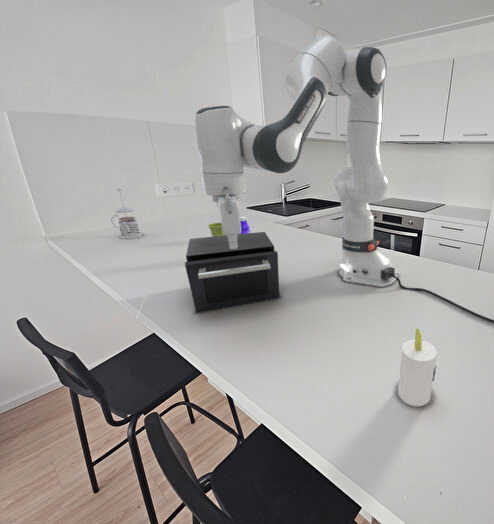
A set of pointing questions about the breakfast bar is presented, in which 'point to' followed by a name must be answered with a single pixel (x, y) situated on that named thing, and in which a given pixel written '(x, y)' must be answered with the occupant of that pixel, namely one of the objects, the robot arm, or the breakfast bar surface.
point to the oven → (220, 246)
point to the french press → (127, 223)
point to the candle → (417, 371)
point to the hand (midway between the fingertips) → (232, 243)
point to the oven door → (233, 280)
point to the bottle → (244, 225)
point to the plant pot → (216, 229)
